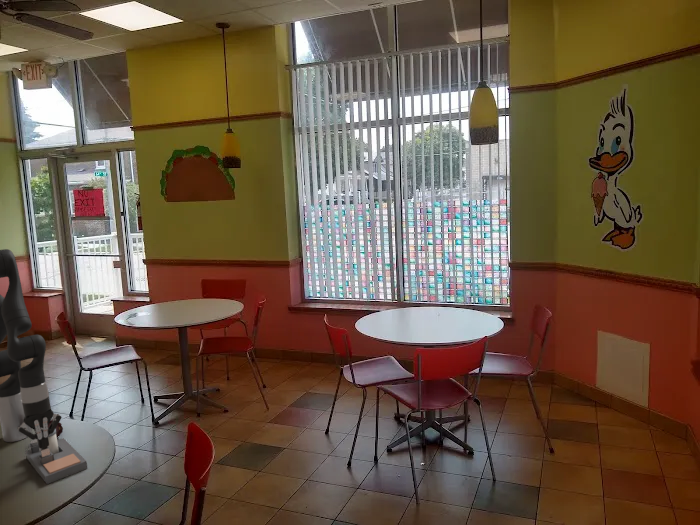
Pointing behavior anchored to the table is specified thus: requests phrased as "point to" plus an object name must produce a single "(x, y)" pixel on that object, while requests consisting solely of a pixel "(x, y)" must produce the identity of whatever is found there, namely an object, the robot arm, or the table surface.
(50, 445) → the cartridge
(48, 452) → the button front
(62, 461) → the housing
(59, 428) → the icecream
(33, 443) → the button back
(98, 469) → the table surface
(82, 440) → the table surface
